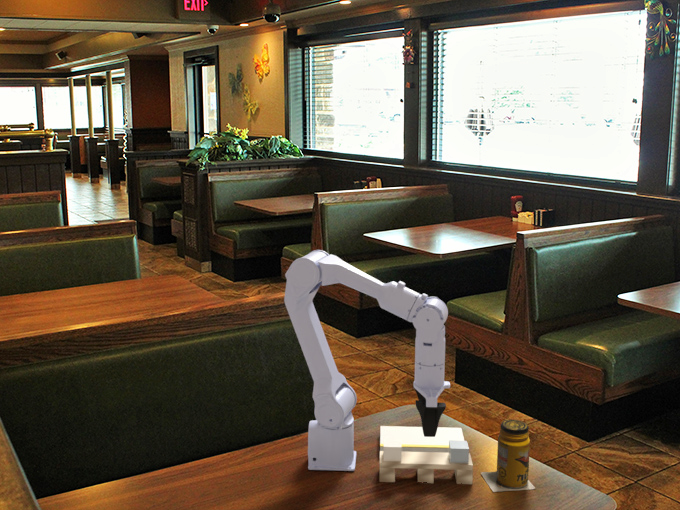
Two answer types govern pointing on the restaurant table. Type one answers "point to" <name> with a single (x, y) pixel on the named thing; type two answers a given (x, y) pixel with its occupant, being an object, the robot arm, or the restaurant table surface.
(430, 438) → the dock
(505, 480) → the condiment
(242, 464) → the restaurant table surface
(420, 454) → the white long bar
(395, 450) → the block
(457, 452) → the light grey square block
